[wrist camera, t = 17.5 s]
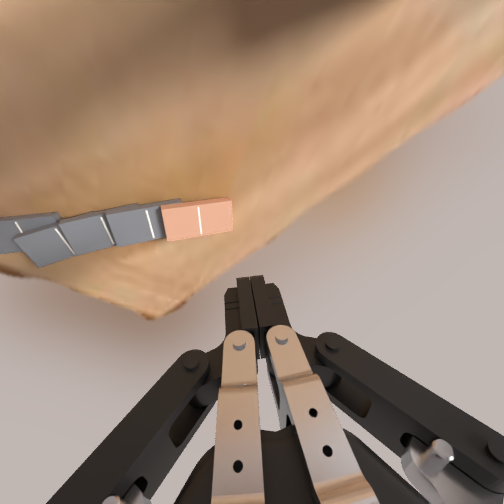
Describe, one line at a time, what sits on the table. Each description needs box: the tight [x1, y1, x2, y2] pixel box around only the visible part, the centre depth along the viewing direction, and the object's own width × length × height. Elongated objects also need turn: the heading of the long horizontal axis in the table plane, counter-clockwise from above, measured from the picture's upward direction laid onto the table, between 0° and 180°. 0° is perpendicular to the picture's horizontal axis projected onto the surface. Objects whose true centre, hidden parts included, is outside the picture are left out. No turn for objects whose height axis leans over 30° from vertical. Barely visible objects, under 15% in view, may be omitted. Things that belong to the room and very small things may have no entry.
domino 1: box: [0, 212, 62, 254], centre depth 36 cm, size 2×5×10 cm
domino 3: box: [58, 203, 138, 256], centre depth 36 cm, size 2×5×10 cm
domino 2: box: [13, 211, 94, 268], centre depth 36 cm, size 2×5×10 cm
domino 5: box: [161, 197, 233, 242], centre depth 37 cm, size 2×5×10 cm
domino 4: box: [106, 198, 182, 247], centre depth 36 cm, size 2×5×10 cm
